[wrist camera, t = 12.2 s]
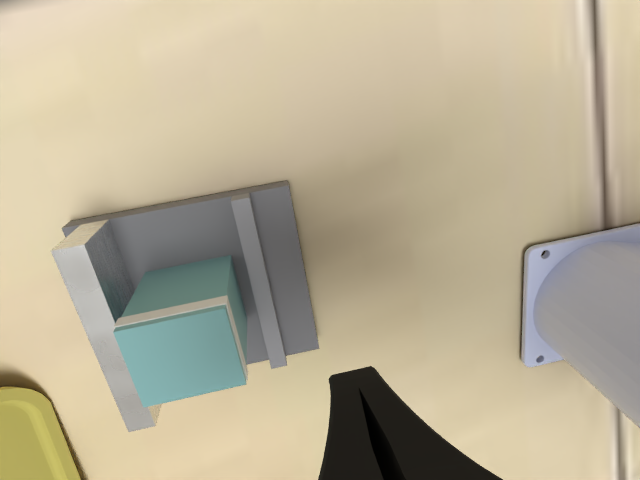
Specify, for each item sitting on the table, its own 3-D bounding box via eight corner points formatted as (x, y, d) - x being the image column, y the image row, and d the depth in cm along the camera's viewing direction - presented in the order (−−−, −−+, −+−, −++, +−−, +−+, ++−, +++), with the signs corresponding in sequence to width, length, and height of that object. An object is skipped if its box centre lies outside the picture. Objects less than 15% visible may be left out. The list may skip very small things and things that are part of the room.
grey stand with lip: (287, 180, 20) (290, 190, 19) (316, 337, 24) (321, 357, 22) (70, 220, 20) (54, 234, 18) (133, 377, 23) (123, 401, 21)
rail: (108, 219, 19) (83, 244, 16) (167, 381, 22) (155, 425, 19) (80, 224, 19) (50, 250, 16) (143, 387, 22) (128, 431, 19)
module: (231, 253, 20) (226, 307, 16) (248, 318, 22) (247, 385, 17) (143, 271, 20) (111, 331, 15) (166, 336, 21) (142, 409, 17)
